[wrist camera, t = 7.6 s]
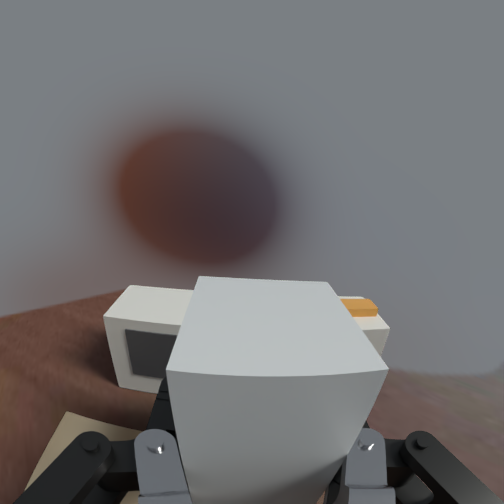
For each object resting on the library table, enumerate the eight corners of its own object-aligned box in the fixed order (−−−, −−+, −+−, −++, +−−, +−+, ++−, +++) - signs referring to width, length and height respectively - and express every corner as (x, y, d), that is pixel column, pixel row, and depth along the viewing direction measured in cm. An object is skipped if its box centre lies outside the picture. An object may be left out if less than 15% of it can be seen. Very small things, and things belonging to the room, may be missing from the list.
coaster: (24, 505, 5) (19, 501, 5) (69, 416, 13) (66, 411, 13) (169, 559, 6) (167, 557, 6) (185, 442, 13) (184, 437, 13)
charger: (200, 528, 8) (165, 369, 5) (208, 430, 15) (205, 258, 12) (296, 527, 8) (388, 369, 5) (282, 431, 15) (313, 264, 12)
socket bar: (118, 387, 17) (101, 308, 15) (138, 349, 22) (129, 277, 20) (366, 396, 18) (393, 321, 16) (346, 357, 23) (364, 289, 21)
